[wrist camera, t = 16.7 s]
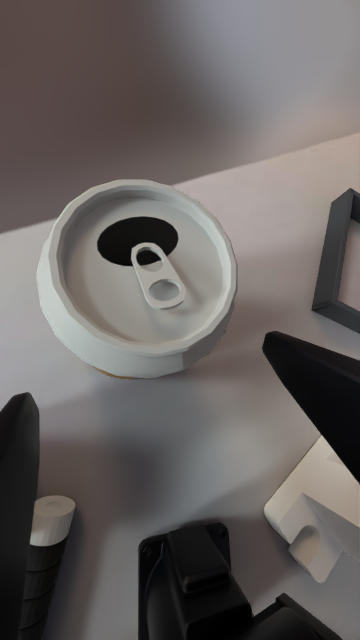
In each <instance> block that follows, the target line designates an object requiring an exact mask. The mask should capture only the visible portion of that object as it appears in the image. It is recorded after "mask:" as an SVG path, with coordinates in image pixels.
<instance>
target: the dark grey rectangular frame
mask: <svg viewBox="0 0 360 640" xmlns="http://www.w3.org/2000/svg"><path fill="white" fill-rule="evenodd" d="M350 217H351V218H352V219H354V220H356V221H358V222H359V223H360V193H358V192H356V191H355V190H353V189H351V188H349V189H348V190H347V191H346V192H344V193H343V194H342V195H341V196H339V197H338V198H337V199H336V200H334V201H333V202H332V204H331V209H330V214H329V220H328V225H327V230H326V236H325V241H324V246H323V251H322V257H321V262H320V267H319V273H318V278H317V283H316V289H315V294H314V299H313V304H312V310H313V311H315V312H317V313H319V314H321V315H323V316H325V317H327V318H329V319H331V320H333V321H335V322H337V323H340V324H342V325H344V326H346V327H348V328H350V329H352V330H354V331H356V332H358V333H360V312H359V311H357V310H355V309H353V308H352V307H350V306H348V305H346V304H344V303H342V302H340V301H338V293H339V287H340V280H341V274H342V267H343V260H344V254H345V247H346V241H347V234H348V228H349V221H350Z"/></svg>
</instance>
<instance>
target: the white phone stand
mask: <svg viewBox="0 0 360 640" xmlns="http://www.w3.org/2000/svg"><path fill="white" fill-rule="evenodd" d="M264 515H265V517H266V519H267V520H268V522H269V523H270V524H271V526H272V527H273V528H274V529H275V530H276V531H277V532H278V533H279V534H280V535H281V536H282V537H283V538H284V539H285V540H286V541H287V542H288V543H289V544H290V547H289V548H288V550H289V552H290V553H291V554H292V556H293V557H294V559H295V560H296V561H297V562H298V563H299V564H300V565H301V566H302V567H303V568H304V569H305V570H306V571H307V572H308V573H309V574H310V575H311V576H312V577H313V578H314V579H315V580H316V581H317V582H318V583H323V582H324V581H325V580H326V579H327V577H328V575H329V574H330V572H331V571H332V569H333V567H334V566H335V564H336V562H337V561H338V559H339V558H340V556H341V554H342V553H343V551H344V552H346V553H347V554H348V555H350V556H351V557H352V558H354V559H355V560H356V561H358V562H359V563H360V485H359V483H358V482H357V481H356V479H355V478H354V477H353V475H352V474H351V473H350V471H349V470H348V469H347V468H346V466H345V465H344V464H343V462H342V461H341V460H340V458H339V457H338V456H337V454H336V453H335V452H334V450H333V449H332V448H331V446H330V445H329V444H328V443H327V441H326V440H325V439H324V437H323V436H321V437H320V438H319V439H318V440H317V442H316V443H315V444H314V445H313V447H312V448H311V449H310V450H309V452H308V453H307V454H306V455H305V456H304V458H303V459H302V460H301V461H300V463H299V464H298V465H297V466H296V468H295V469H294V470H293V471H292V473H291V474H290V475H289V476H288V477H287V479H286V480H285V481H284V482H283V484H282V485H281V486H280V487H279V489H278V490H277V491H276V492H275V494H274V495H273V496H272V497H271V498H270V500H269V501H268V502H267V503H266V505H265V507H264ZM298 533H299V534H298ZM296 536H297V537H296ZM294 539H295V540H294ZM293 540H294V541H293ZM291 543H292V544H291Z"/></svg>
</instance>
